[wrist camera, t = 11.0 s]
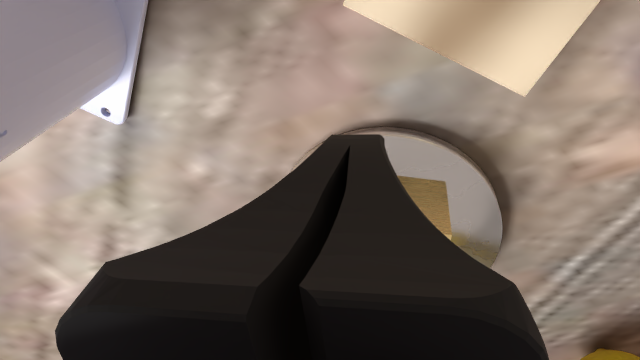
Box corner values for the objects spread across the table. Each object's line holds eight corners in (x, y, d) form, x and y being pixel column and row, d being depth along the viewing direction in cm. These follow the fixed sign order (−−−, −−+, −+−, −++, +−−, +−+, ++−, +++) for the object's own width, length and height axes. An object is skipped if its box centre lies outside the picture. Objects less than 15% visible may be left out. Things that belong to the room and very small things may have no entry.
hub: (253, 248, 28) (231, 298, 24) (331, 85, 21) (316, 124, 18) (423, 323, 29) (424, 379, 25) (550, 191, 22) (575, 246, 19)
